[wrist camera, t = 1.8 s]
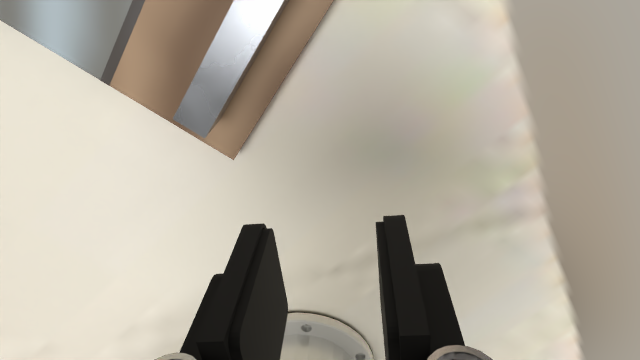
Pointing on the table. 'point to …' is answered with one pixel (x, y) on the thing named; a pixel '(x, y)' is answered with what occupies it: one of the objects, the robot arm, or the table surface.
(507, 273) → the table surface
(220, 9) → the plate
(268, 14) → the lock bar
